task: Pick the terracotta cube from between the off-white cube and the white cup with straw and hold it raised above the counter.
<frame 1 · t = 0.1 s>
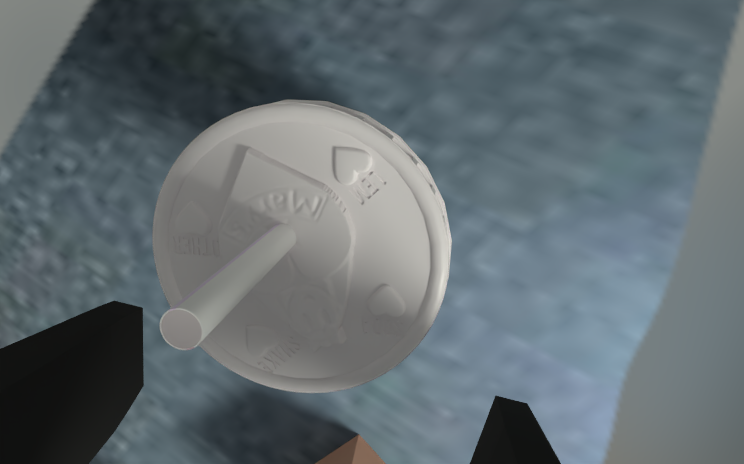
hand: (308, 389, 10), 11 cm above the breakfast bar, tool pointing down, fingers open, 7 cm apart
white cup with straw: (362, 182, 20), on the breakfast bar
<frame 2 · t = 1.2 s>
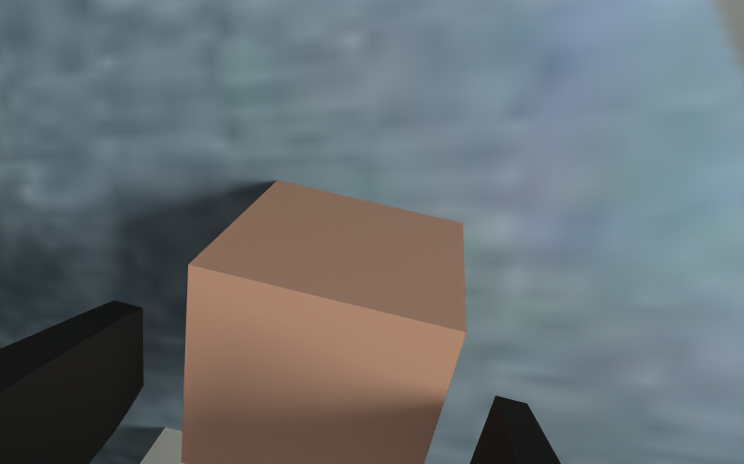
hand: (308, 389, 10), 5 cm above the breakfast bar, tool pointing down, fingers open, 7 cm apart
terracotta cube: (353, 281, 14), on the breakfast bar
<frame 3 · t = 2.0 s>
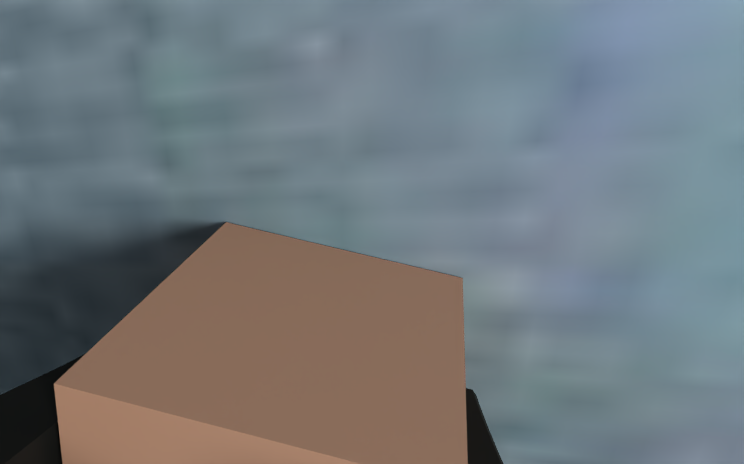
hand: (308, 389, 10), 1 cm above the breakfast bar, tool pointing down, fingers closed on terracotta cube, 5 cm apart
terracotta cube: (325, 346, 11), on the breakfast bar, touching gripper
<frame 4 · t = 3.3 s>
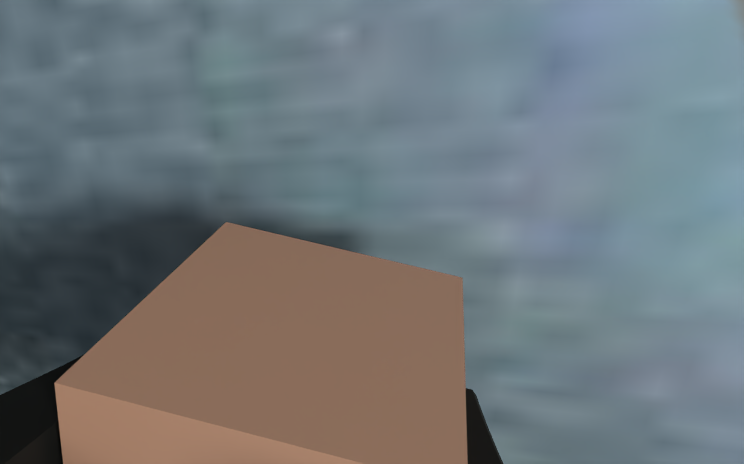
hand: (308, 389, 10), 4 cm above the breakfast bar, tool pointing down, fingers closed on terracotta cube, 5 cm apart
terracotta cube: (325, 346, 11), point 2 cm above the breakfast bar, touching gripper
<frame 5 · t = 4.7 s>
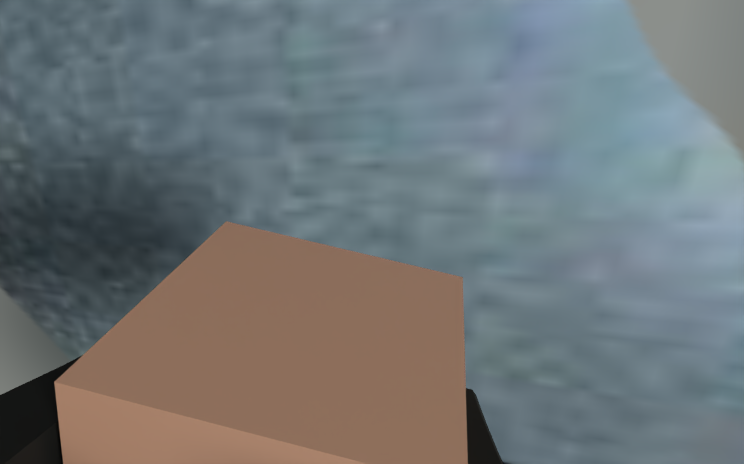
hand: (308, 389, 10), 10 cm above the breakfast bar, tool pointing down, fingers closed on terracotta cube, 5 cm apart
terracotta cube: (325, 345, 11), point 9 cm above the breakfast bar, touching gripper
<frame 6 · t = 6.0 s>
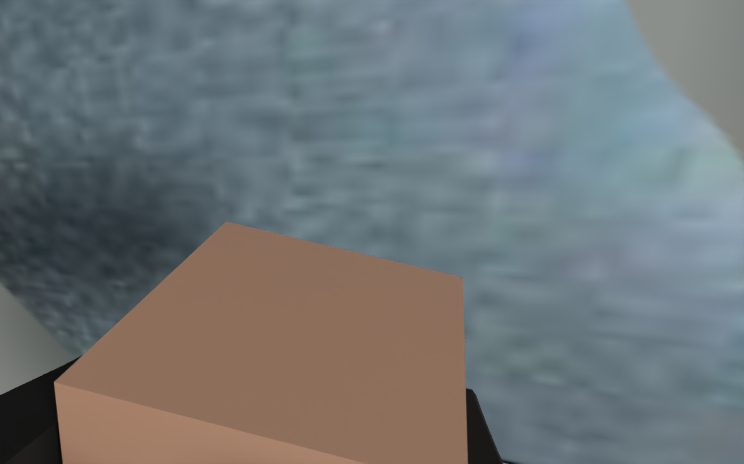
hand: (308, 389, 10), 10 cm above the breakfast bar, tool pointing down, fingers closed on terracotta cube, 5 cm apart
terracotta cube: (325, 345, 11), point 9 cm above the breakfast bar, touching gripper
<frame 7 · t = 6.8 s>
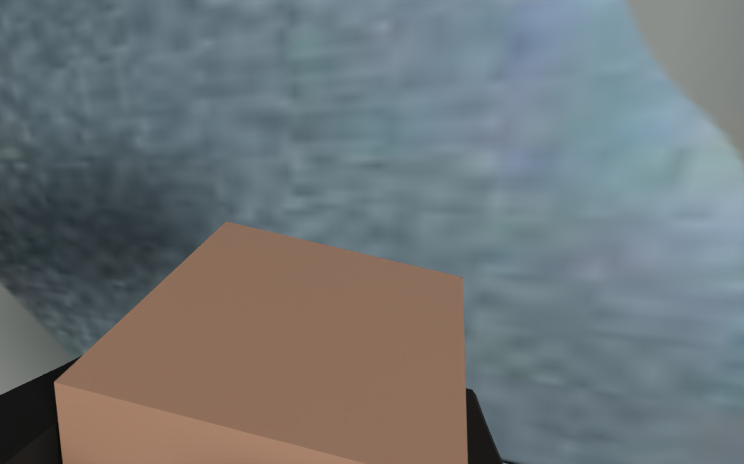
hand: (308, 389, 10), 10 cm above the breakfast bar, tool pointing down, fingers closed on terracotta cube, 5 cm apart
terracotta cube: (325, 345, 11), point 9 cm above the breakfast bar, touching gripper
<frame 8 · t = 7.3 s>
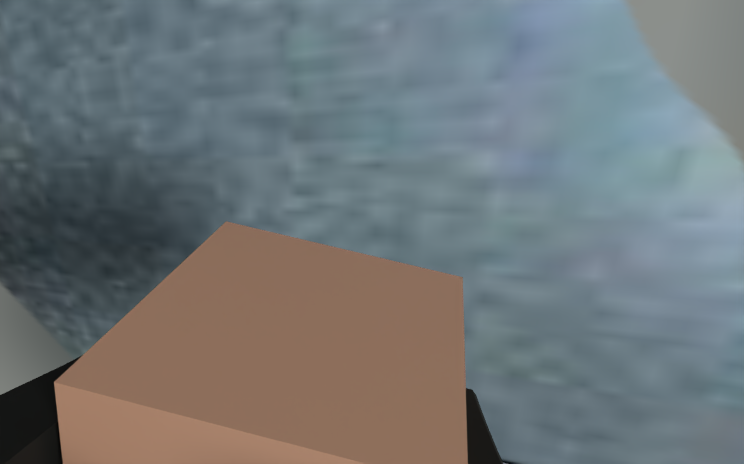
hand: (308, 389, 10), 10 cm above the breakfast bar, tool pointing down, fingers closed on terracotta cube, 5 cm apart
terracotta cube: (325, 345, 11), point 9 cm above the breakfast bar, touching gripper
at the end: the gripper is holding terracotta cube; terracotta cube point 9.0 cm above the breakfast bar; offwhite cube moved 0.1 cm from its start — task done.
